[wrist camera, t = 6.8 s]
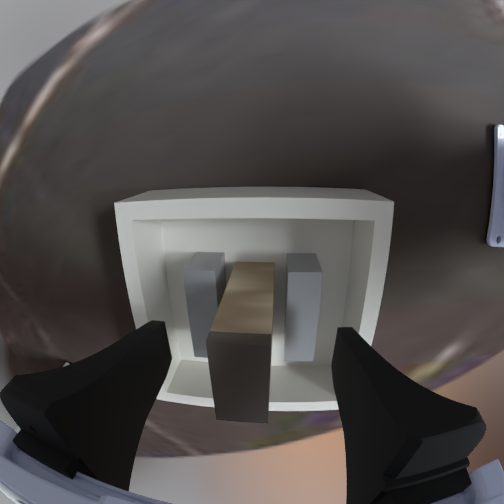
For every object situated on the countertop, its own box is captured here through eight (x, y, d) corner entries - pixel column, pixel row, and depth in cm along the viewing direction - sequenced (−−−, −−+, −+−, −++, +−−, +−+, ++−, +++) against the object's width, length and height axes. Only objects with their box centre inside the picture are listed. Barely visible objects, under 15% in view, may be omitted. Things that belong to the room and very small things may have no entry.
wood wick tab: (274, 262, 15) (271, 345, 8) (272, 327, 16) (267, 423, 10) (236, 261, 15) (205, 341, 9) (238, 325, 16) (216, 419, 10)
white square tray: (365, 189, 14) (394, 201, 10) (342, 365, 18) (353, 408, 14) (150, 190, 15) (114, 202, 11) (175, 359, 19) (156, 399, 15)
